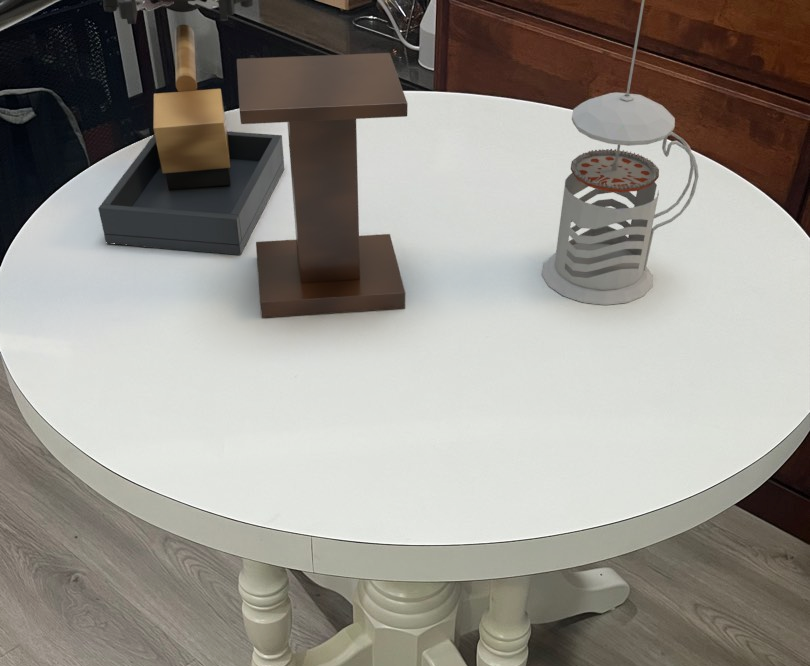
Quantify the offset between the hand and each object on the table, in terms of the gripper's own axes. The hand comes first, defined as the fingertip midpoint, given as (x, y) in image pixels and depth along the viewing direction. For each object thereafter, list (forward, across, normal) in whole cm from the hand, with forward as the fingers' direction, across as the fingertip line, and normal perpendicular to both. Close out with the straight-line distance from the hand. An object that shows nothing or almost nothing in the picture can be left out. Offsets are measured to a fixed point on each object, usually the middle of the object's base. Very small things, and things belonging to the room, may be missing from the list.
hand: (176, 11), depth 92 cm
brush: (-1, 0, -13) cm, 13 cm away
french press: (+27, -36, -15) cm, 47 cm away
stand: (+25, -11, -15) cm, 31 cm away
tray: (+9, 0, -14) cm, 17 cm away
